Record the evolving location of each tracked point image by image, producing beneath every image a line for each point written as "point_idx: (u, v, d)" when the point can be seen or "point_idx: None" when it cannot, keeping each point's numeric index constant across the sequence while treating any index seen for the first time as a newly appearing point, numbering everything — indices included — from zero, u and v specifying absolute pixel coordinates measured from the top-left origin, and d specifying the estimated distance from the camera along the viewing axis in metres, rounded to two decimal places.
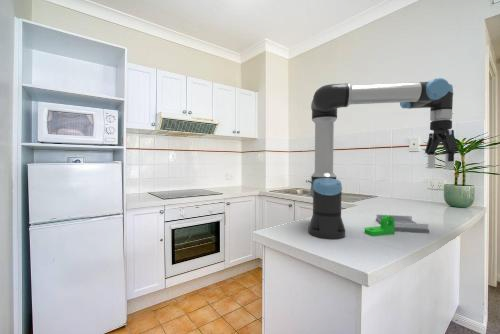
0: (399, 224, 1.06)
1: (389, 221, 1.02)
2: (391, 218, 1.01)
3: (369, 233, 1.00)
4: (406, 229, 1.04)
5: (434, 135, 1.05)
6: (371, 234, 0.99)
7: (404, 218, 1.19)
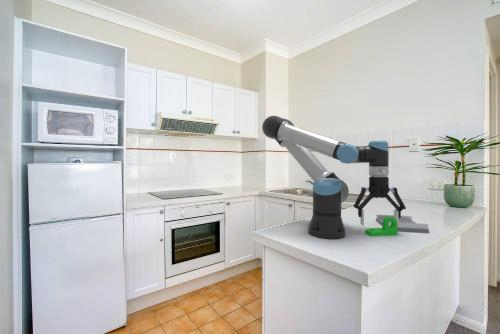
0: (399, 224, 1.06)
1: (392, 223, 1.00)
2: (393, 220, 0.99)
3: (368, 233, 0.99)
4: (406, 229, 1.04)
5: None
6: (370, 235, 0.98)
7: (404, 218, 1.19)
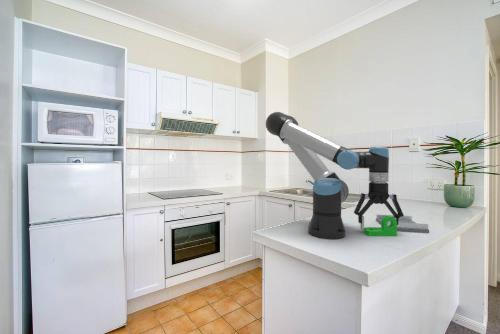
0: (399, 224, 1.06)
1: (391, 222, 1.00)
2: (393, 219, 0.98)
3: (366, 232, 1.00)
4: (406, 229, 1.04)
5: None
6: (368, 233, 0.99)
7: (404, 218, 1.19)
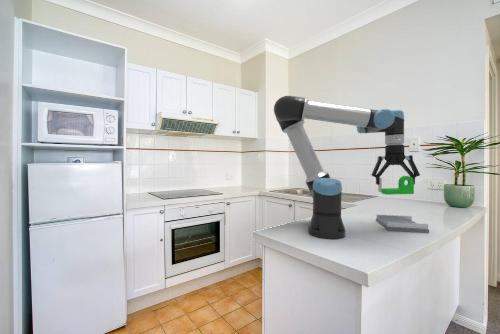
0: (399, 224, 1.06)
1: (408, 181, 1.05)
2: (409, 178, 1.04)
3: (384, 192, 1.05)
4: (406, 229, 1.04)
5: None
6: (385, 192, 1.04)
7: (404, 218, 1.19)
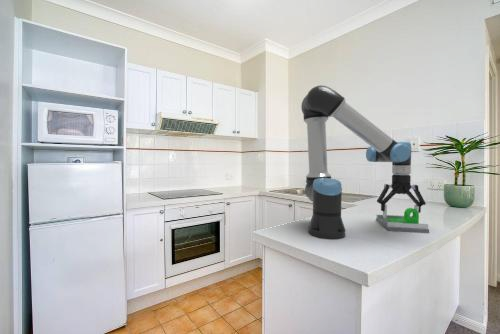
0: (399, 224, 1.06)
1: (413, 213, 1.09)
2: (415, 211, 1.08)
3: None
4: (406, 229, 1.04)
5: None
6: None
7: None
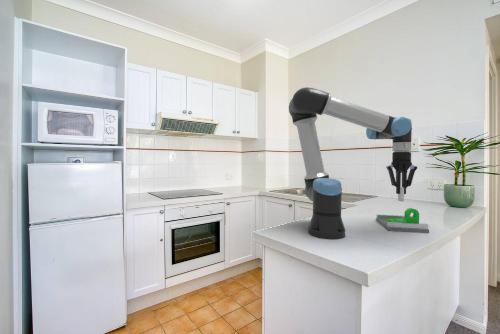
0: (399, 224, 1.06)
1: (414, 214, 1.09)
2: (415, 211, 1.08)
3: None
4: (406, 229, 1.04)
5: None
6: None
7: None
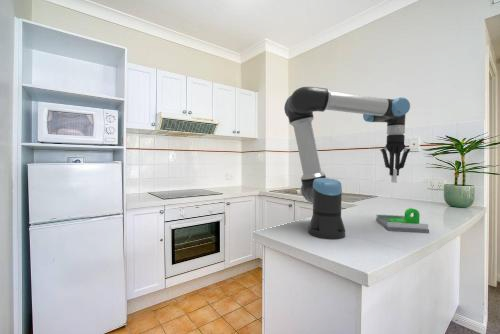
0: (399, 224, 1.06)
1: (414, 214, 1.09)
2: (415, 211, 1.08)
3: None
4: (406, 229, 1.04)
5: None
6: None
7: (404, 218, 1.19)
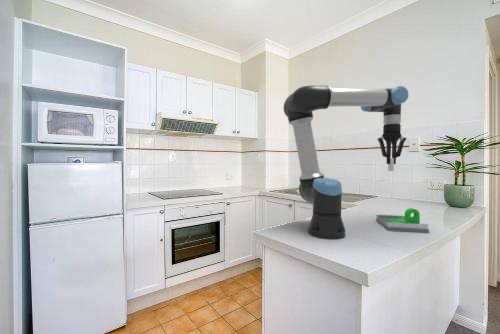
0: (399, 224, 1.06)
1: (414, 214, 1.09)
2: (415, 211, 1.07)
3: None
4: (406, 229, 1.04)
5: None
6: None
7: (404, 218, 1.19)
